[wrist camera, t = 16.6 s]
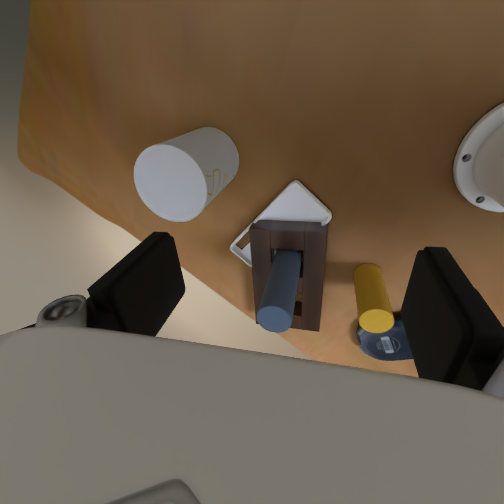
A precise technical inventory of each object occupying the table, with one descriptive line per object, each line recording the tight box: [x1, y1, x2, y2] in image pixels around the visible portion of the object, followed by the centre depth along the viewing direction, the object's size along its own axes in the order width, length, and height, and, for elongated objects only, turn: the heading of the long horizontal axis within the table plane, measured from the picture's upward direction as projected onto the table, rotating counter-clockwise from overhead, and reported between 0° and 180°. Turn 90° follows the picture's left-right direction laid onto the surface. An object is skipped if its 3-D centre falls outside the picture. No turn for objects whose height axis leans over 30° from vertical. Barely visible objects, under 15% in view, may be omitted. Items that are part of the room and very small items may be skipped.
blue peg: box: [257, 249, 303, 332], centre depth 37 cm, size 4×4×15 cm
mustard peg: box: [353, 264, 394, 333], centre depth 38 cm, size 4×4×10 cm
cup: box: [134, 127, 239, 222], centre depth 34 cm, size 8×8×12 cm
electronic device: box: [354, 317, 413, 361], centre depth 45 cm, size 9×6×15 cm
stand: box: [249, 219, 328, 332], centre depth 44 cm, size 11×18×4 cm, turn 4°
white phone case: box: [230, 180, 332, 268], centre depth 41 cm, size 7×1×15 cm
